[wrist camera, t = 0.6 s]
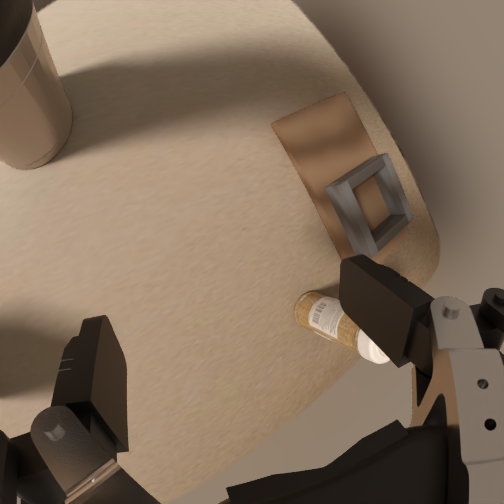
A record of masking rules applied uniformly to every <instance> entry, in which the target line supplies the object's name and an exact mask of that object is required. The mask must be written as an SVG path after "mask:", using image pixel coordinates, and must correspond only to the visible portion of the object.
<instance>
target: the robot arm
mask: <svg viewBox="0 0 504 504" xmlns="http://www.w3.org/2000/svg"><path fill="white" fill-rule="evenodd" d="M71 126H72V109H71V105H70V103H69V101H68V98H67V96H66V93H65V91H64V88H63V86H62V83H61V81H60V78H59V76H58V73H57V70H56V68H55V65H54V63H53V60H52V57H51V54H50V52H49V49H48V46H47V43H46V40H45V38H44V35H43V32H42V29H41V26H40V23H39V20H38V17H37V14H36V10H35V7H34V4H33V0H0V161H2V162H4V163H6V164H8V165H9V166H11V167H14V168H16V169H21V170H28V169H34V168H37V167H40V166H42V165H43V164H45V163H47V162H49V161H50V160H51V159H52V158H53V157H54V156H56V154H57V153H58V152H59V151H60V150H61V149H62V147H63V145H64V144H65V142H66V141H67V138H68V136H69V133H70V131H71ZM339 301H340V305H341V308H342V310H343V311H344V313H345V314H346V315H347V316H348V317H349V318H350V319H351V320H352V321H353V322H354V323H355V324H356V325H357V326H358V327H359V328H360V329H361V330H362V331H363V332H364V333H365V334H366V335H367V336H368V337H369V338H370V339H371V340H372V341H373V342H374V343H375V344H376V345H377V346H378V347H379V348H380V349H381V350H382V351H383V352H384V354H385V355H386V356H387V357H388V358H389V359H390V360H391V361H392V362H393V363H394V364H395V365H396V366H397V367H398V368H399V367H401V366H403V365H405V364H407V363H409V362H412V363H413V364H414V365H413V368H412V420H411V424H410V427H408V428H404V427H403V426H402V424H401V423H400V422H399V421H398V420H396V421H394V422H392V423H390V424H389V425H387V426H385V427H383V428H381V429H379V430H378V431H376V432H374V433H372V434H370V435H368V436H366V437H364V438H362V439H361V440H360V441H358V442H357V443H356V444H355V445H353V446H352V447H351V448H350V449H348V450H347V451H346V452H345V453H343V454H342V455H341V456H340V457H338V458H337V459H336V460H334V461H333V462H332V463H330V464H329V465H327V466H325V467H322V468H318V469H312V470H305V471H299V472H292V473H284V474H274V475H271V476H267V477H264V478H261V479H257V480H254V481H250V482H247V483H243V484H239V485H236V486H232V487H227V488H226V489H227V492H228V495H229V498H228V499H226V500H224V501H222V502H221V503H219V504H504V355H503V354H502V353H501V352H500V351H499V350H500V348H501V345H502V343H503V341H504V290H503V289H500V288H490V289H487V290H486V291H485V292H484V294H483V298H482V301H481V304H476V305H471V306H468V305H467V304H466V303H465V302H464V301H462V300H460V299H458V298H455V297H449V296H443V297H438V298H436V299H434V298H433V297H432V296H430V295H429V294H427V293H426V292H424V291H423V290H422V289H420V288H419V287H417V286H416V285H415V284H413V283H412V282H410V281H409V282H408V280H407V279H406V278H404V277H403V276H400V274H398V273H397V272H396V271H394V270H393V269H391V268H389V267H386V266H383V265H380V264H378V263H376V262H375V261H373V260H372V259H370V258H369V257H367V256H366V255H364V254H359V255H355V256H352V257H348V258H344V259H343V260H342V261H341V265H340V288H339ZM128 451H129V447H128V427H127V366H126V360H125V357H124V354H123V351H122V349H121V347H120V344H119V342H118V340H117V338H116V335H115V333H114V331H113V328H112V326H111V323H110V321H109V319H108V317H107V316H106V315H102V316H97V317H92V318H87V319H84V320H83V322H82V326H81V330H80V333H79V336H76V337H73V338H72V339H71V340H70V342H69V343H68V344H67V346H66V347H65V349H64V353H63V356H62V362H61V364H60V368H59V372H58V376H57V380H56V384H55V389H54V393H53V398H52V403H51V407H49V408H46V409H45V410H43V411H42V412H40V413H39V414H38V415H37V416H36V418H35V419H34V421H33V423H32V425H31V432H28V433H25V434H23V435H20V436H17V437H14V438H11V439H9V438H8V437H7V436H6V435H5V433H4V432H3V431H1V430H0V504H17V496H18V497H19V498H20V499H21V504H161V503H160V502H158V501H157V500H156V499H155V498H154V497H153V496H151V495H150V494H149V493H148V492H147V491H146V490H145V489H144V488H142V487H141V486H140V485H139V484H138V483H137V482H136V481H135V480H134V479H133V478H132V477H131V476H130V475H129V474H128V473H127V472H126V471H125V470H124V469H123V468H122V467H121V466H120V465H119V464H118V463H117V453H119V452H128Z"/></svg>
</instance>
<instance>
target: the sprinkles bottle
mask: <svg viewBox="0 0 504 504" xmlns="http://www.w3.org/2000/svg"><path fill="white" fill-rule="evenodd" d="M294 314H295V318H296V321H297V323H298V324H299V325H301V326H302V327H305V328H308V329H310V330H312V331H314V332H315V333H317V334H319V335H321V336H323V337H325V338H327V339H329V340H331V341H334V342H336V343H338V344H341V345H343V346H345V347H347V348H349V349H351V350H353V351H356V352H358V353H359V354H360V355H361V356H362V357H364V358H365V359H368V360H370V361H372V362H375V363H378V364H382V363H386V362H387V361H389V360H390V359H389V358H388V357H387V356H386V355H385V354H384V352H383V351H382V350H381V349H380V348H379V347H378V346H377V345H376V344H375V343H374V342H373V341H372V340H371V339H370V338H369V337H368V336H367V335H366V334H365V333H364V332H363V331H362V330H361V329H360V328H359V327H358V326H357V325H356V324H355V323H354V322H353V321H352V320H351V319H350V318H349V317H348V316H347V315H346V314H345V313H344V311H343V310H342V308H341V305H340V301H339V299H336V298H332V297H327V296H324V295H321V294H320V293H318V292H314V291H313V292H308V293H306V294H304V295H303V296H301V297H300V299H299V300H298V302H297V303H296V306H295V312H294Z"/></svg>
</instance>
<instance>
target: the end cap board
mask: <svg viewBox="0 0 504 504" xmlns="http://www.w3.org/2000/svg"><path fill="white" fill-rule="evenodd" d="M271 126H272V128H273V129H274V131H275V133H276V135H277V136H278V138H279V140H280V142H281V143H282V145H283V147H284V149H285V150H286V152H287V154H288V156H289V158H290V159H291V161H292V163H293V165H294V167H295V169H296V170H297V172H298V174H299V176H300V178H301V180H302V182H303V184H304V185H305V187H306V189H307V191H308V193H309V195H310V197H311V199H312V201H313V203H314V205H315V207H316V209H317V211H318V213H319V215H320V217H321V219H322V221H323V223H324V225H325V227H326V229H327V231H328V233H329V235H330V237H331V239H332V241H333V243H334V245H335V247H336V249H337V251H338V254H339V256H340V258H341V260H343V259H344V258H348V257H352V256H355V255H359V254H364V255H366V256H367V257H369V258H370V259H372V260H373V261H375V262H376V263H378V264H380V263H381V262H382V261H383V260H384V259H385V258H386V257H387V256H388V255H389V254H390V253H391V252H392V251H393V250H394V249H395V248H396V247H397V246H398V245H399V244H400V243H401V242H402V241H403V240H404V239H405V238H406V237H407V236H408V235H409V234H410V233H409V231H408V228H407V224H408V223H409V222H410V221H411V220H412V219H413V215H412V212H411V210H410V207H409V204H408V202H407V199H406V196H405V194H404V191H403V189H402V186H401V184H400V181H399V179H398V176H397V174H396V172H395V169H394V167H393V165H392V163H391V160H390V158H389V156H388V154H387V153H384V154H380V155H377V153H376V151H375V149H374V146H373V144H372V142H371V140H370V138H369V136H368V134H367V132H366V130H365V128H364V126H363V124H362V122H361V120H360V119H359V117H358V115H357V113H356V111H355V109H354V107H353V106H352V104H351V102H350V100H349V98H348V97H347V95H346V93H345V92H343V93H340V94H338V95H335V96H333V97H330V98H328V99H325V100H323V101H320V102H318V103H316V104H313V105H311V106H309V107H306V108H304V109H302V110H299V111H297V112H295V113H292V114H290V115H288V116H286V117H284V118H281V119H279V120H277V121H275V122H274V123H272V124H271Z"/></svg>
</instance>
